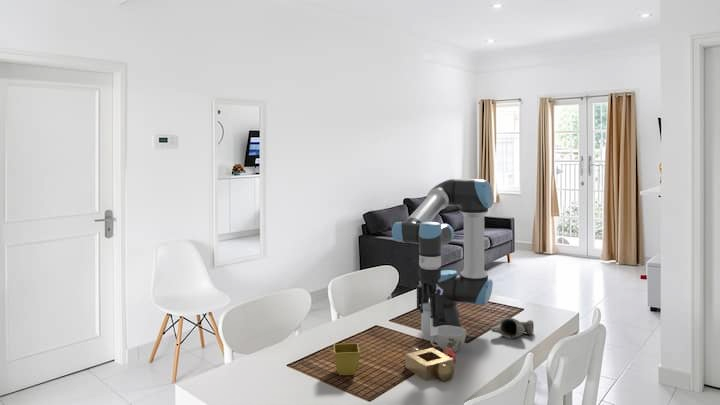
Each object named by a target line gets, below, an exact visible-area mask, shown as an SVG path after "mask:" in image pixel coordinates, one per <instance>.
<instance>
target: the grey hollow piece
mask: <svg viewBox="0 0 720 405" xmlns="http://www.w3.org/2000/svg"><path fill="white" fill-rule="evenodd" d="M490 331H491V332H493V333H498V334H500V335H502V337H504V338H507V339H514V338H517V337H520V336H521V335H523V334H524V333H525V334H527V335H528V336H533V334H534V321H533V320H532V319H529V320H527V321H519V320H518V319H517V318H512V317H505V318H503V319H501V320H500V321H499V322H498V323H497V324H496V325H495V326H494V325H493V326H492V327H491V328H490Z"/></svg>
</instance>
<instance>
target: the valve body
mask: <svg viewBox="0 0 720 405" xmlns="http://www.w3.org/2000/svg"><path fill="white" fill-rule="evenodd" d="M404 358H405V360H404V361H405V362H404V363H405V364H404V365H405V367H404V368H405V369H407V370H408V371H409V372H411V373H413V374H415V375H416V376H418V377H419V378H421V379H422V380H424V381H430V380H432V379H433V380H434V379H435V378H438V379H440V380H442V381H444V382H449V381H450V380H451V379H452V378H453V375H454V371H455V370H454V368H455V367H454V366H455V364H456V362H457V361H456V360H457V358H456V354H455V352H453V350H452V349H450V348H447V349H444V351H443V350H442V352H441V351H440V350H438V349H436V348H435V347H429V348H425V349H419V348H418V347H415V346H412V347H410V348H409V349H408V350H407V353H405V355H404Z"/></svg>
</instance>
